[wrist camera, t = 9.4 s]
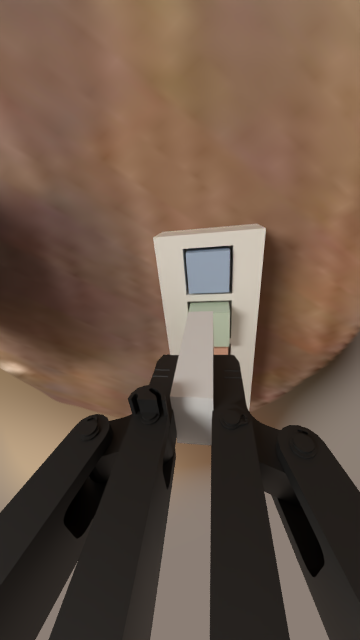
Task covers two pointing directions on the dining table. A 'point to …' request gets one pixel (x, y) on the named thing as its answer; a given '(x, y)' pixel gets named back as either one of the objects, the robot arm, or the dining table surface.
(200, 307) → the sage key
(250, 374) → the keypad
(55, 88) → the dining table surface
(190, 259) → the slate key
